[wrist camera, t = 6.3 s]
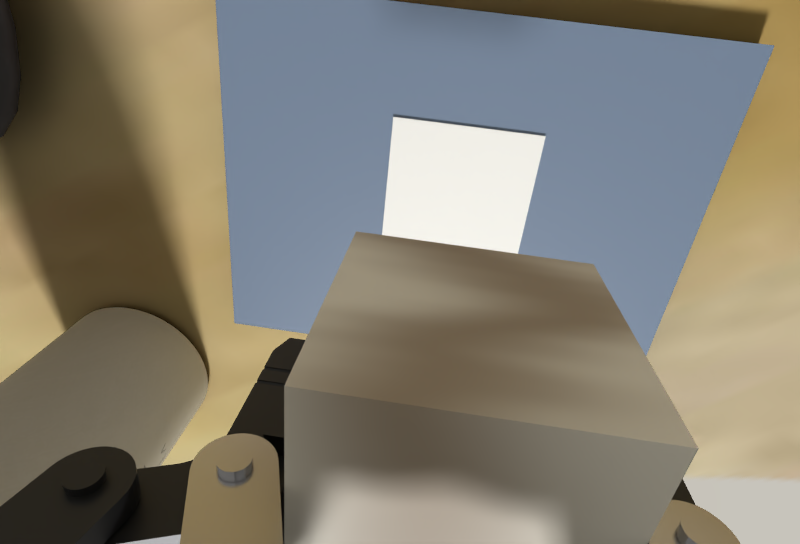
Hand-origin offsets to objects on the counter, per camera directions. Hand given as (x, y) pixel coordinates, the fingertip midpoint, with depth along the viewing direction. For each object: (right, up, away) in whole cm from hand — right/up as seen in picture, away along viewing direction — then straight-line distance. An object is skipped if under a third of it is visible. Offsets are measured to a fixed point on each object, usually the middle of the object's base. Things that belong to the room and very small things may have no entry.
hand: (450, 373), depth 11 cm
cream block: (0, 0, 0) cm, 0 cm away
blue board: (+1, +5, +11) cm, 12 cm away
